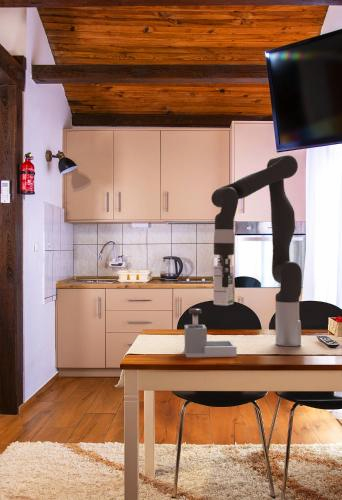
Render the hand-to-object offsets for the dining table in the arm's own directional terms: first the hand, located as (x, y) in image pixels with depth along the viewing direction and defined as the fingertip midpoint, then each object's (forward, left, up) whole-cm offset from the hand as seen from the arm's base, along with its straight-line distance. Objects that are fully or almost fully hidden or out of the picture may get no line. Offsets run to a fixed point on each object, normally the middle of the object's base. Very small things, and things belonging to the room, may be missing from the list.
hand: (223, 286), depth 175 cm
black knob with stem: (+10, 0, -17) cm, 20 cm away
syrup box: (0, 0, -7) cm, 7 cm away
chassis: (+5, 0, -25) cm, 25 cm away
